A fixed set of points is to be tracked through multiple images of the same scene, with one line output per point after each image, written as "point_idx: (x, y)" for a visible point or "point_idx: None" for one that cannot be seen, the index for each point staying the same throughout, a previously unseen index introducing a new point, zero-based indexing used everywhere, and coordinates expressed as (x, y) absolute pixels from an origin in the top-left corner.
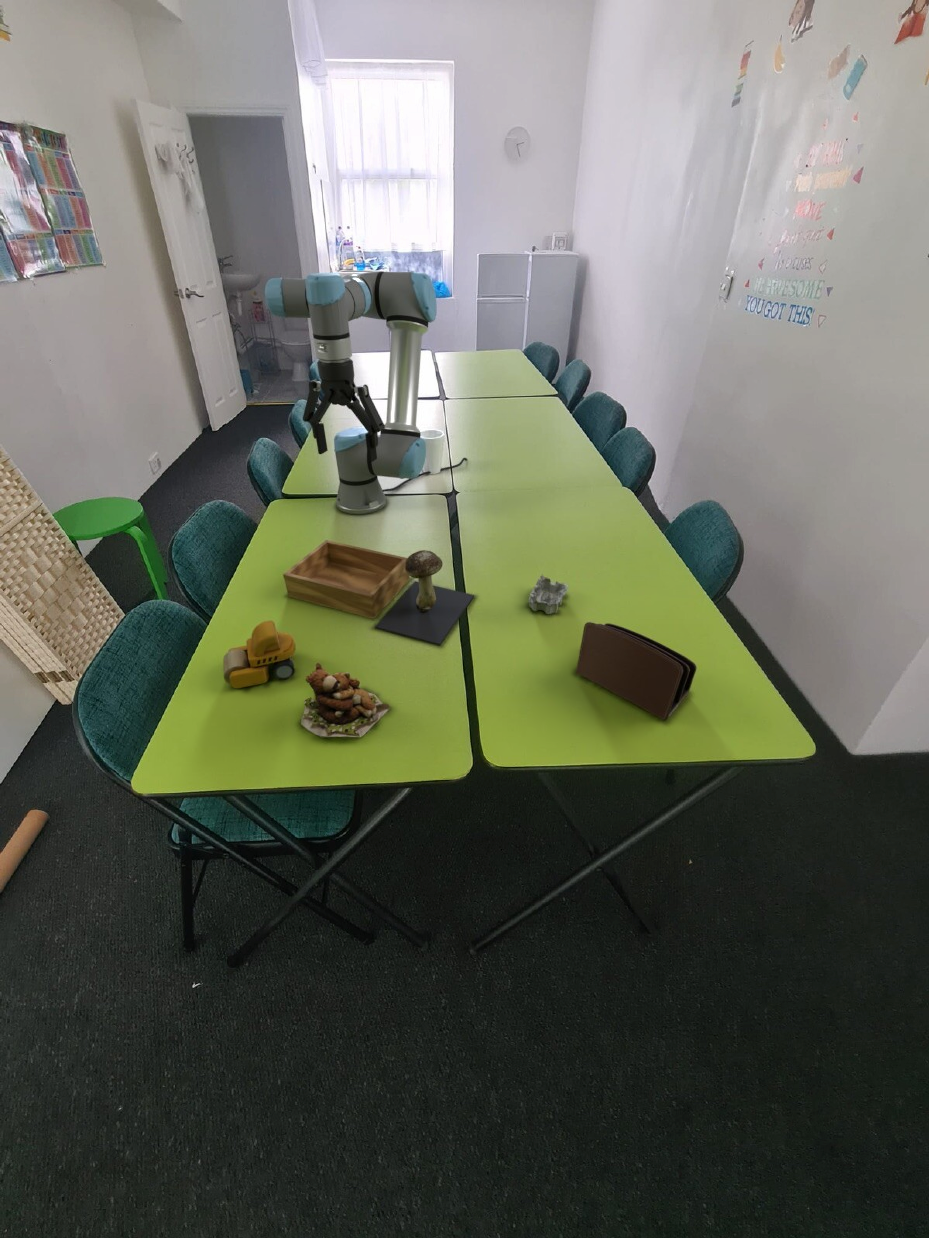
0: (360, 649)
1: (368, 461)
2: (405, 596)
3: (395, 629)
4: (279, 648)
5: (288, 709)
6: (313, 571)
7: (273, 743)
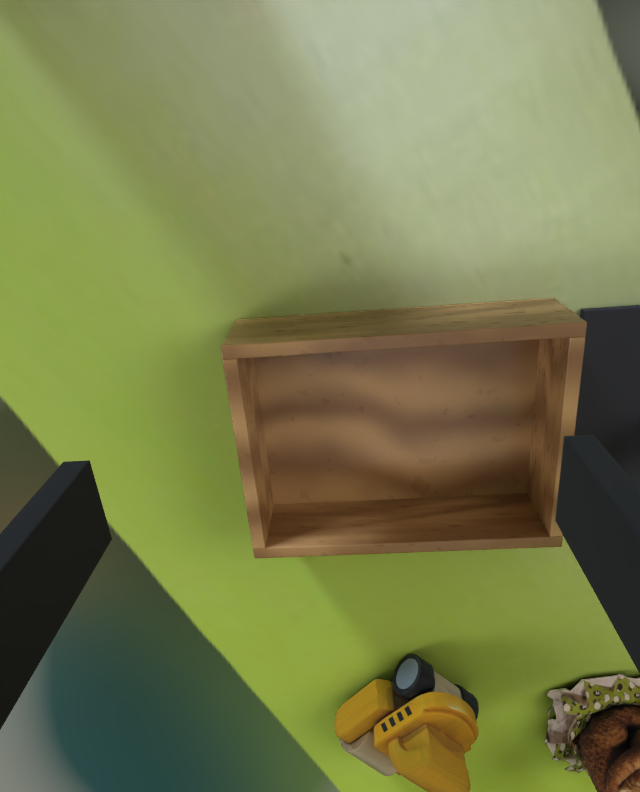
0: (557, 591)
1: (559, 524)
2: (586, 395)
3: None
4: (462, 750)
5: (509, 736)
6: (259, 424)
7: (528, 781)
